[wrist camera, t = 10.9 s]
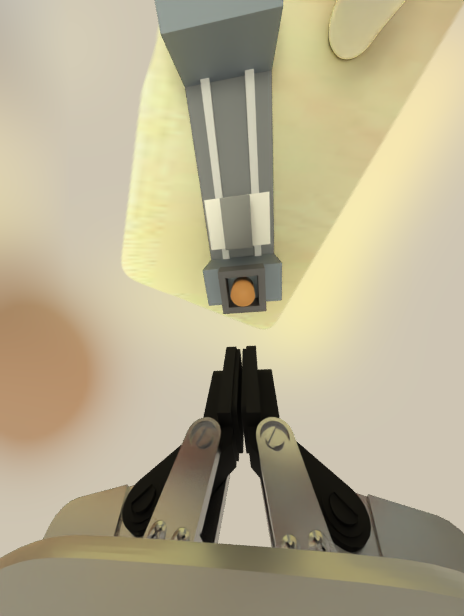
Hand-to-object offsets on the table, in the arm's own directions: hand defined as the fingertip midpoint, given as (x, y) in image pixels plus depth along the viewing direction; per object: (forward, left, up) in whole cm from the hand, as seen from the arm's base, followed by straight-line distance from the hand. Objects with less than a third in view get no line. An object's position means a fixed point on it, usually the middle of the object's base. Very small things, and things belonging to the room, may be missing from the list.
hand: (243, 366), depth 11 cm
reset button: (0, 0, -15) cm, 15 cm away
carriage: (0, -7, -21) cm, 22 cm away
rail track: (0, -12, -24) cm, 27 cm away
